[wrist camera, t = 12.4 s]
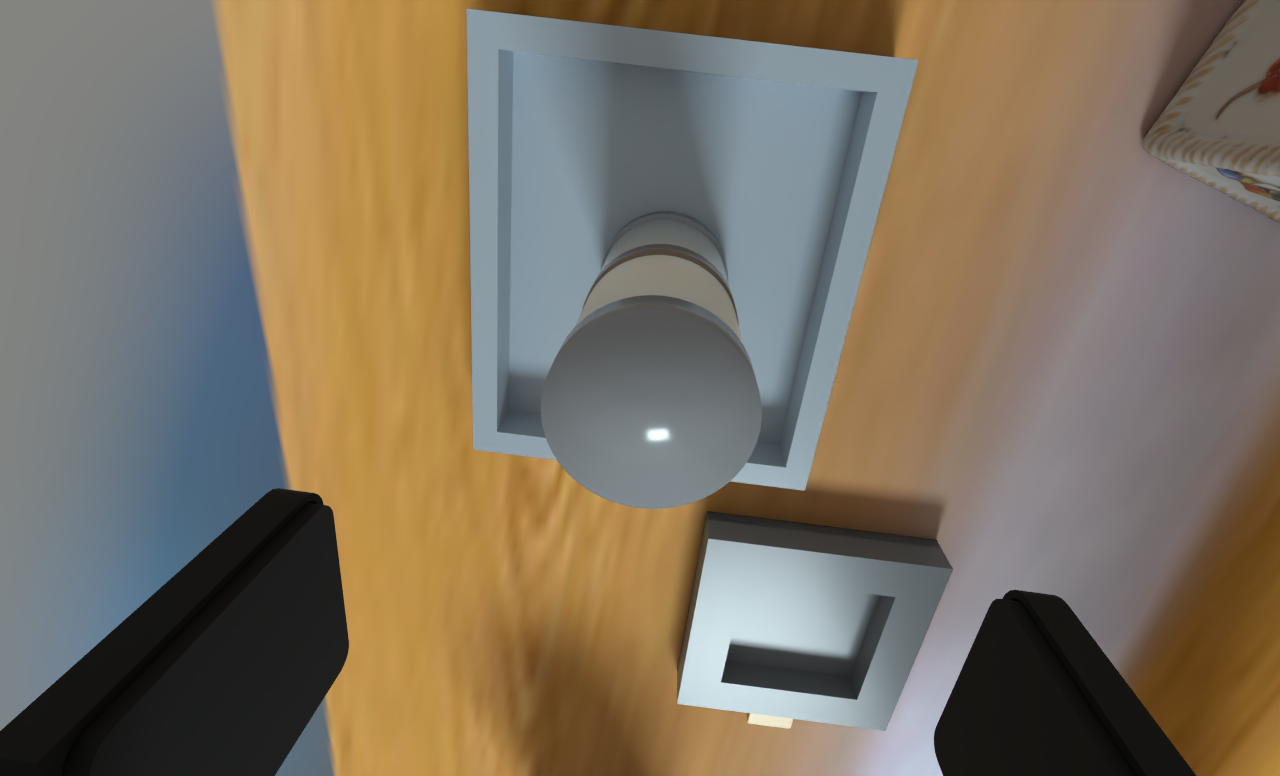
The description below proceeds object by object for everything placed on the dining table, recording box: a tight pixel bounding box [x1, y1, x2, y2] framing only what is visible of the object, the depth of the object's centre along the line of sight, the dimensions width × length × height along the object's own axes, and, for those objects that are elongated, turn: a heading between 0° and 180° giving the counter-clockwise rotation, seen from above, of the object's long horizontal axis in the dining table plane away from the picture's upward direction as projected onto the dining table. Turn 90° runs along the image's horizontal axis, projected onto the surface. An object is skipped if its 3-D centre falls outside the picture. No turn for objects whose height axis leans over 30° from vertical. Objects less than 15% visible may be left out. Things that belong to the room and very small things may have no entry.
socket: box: [677, 512, 953, 731], centre depth 32 cm, size 11×14×2 cm
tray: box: [467, 9, 919, 491], centre depth 24 cm, size 14×16×2 cm
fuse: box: [541, 211, 762, 509], centre depth 19 cm, size 5×5×12 cm
